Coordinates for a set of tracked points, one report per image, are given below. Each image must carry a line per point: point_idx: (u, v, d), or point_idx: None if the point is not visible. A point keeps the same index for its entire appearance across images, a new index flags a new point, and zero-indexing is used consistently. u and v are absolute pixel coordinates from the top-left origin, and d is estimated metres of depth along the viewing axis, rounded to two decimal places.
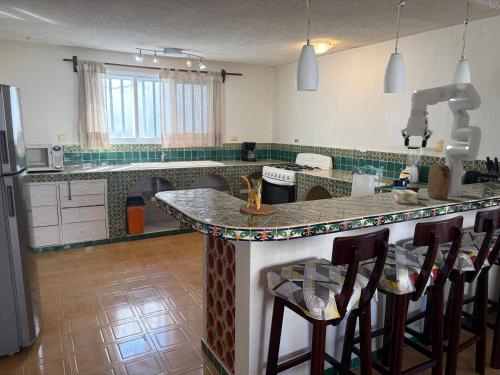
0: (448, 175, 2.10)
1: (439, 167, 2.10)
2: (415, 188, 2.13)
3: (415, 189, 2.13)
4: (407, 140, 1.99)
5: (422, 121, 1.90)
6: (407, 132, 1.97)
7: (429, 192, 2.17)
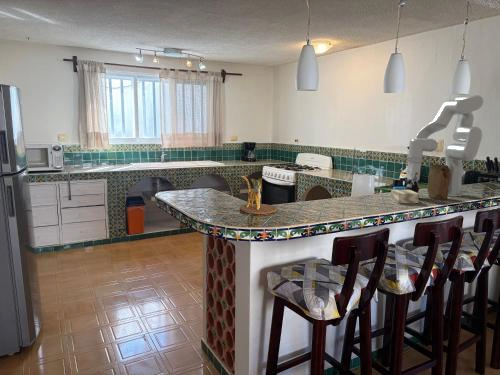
0: (448, 175, 2.10)
1: (439, 167, 2.10)
2: None
3: None
4: None
5: None
6: None
7: (429, 192, 2.17)
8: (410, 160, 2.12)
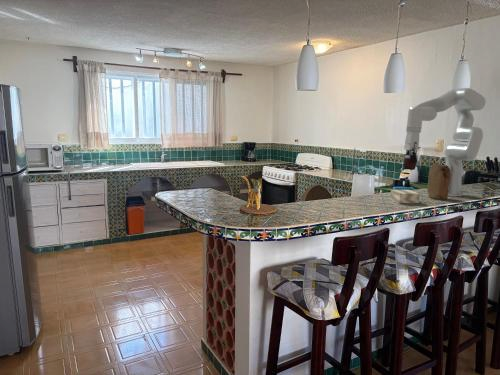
0: (448, 175, 2.10)
1: (439, 167, 2.10)
2: None
3: None
4: None
5: None
6: None
7: (429, 192, 2.17)
8: (409, 129, 2.02)
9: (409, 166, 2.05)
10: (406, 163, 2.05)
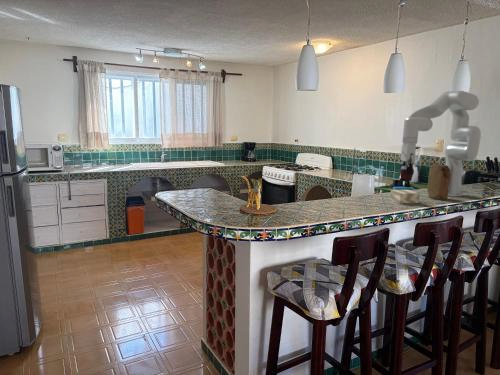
0: (448, 175, 2.10)
1: (439, 167, 2.10)
2: None
3: None
4: None
5: None
6: None
7: (429, 192, 2.17)
8: (405, 140, 1.98)
9: (405, 177, 2.02)
10: (402, 174, 2.02)
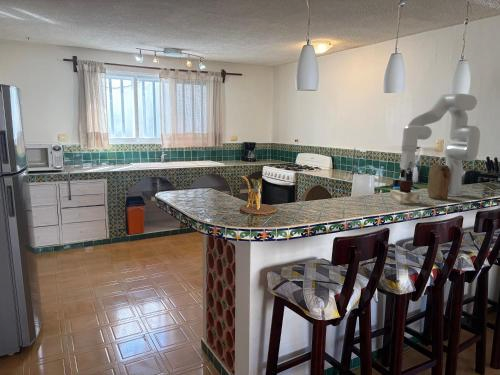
0: (448, 175, 2.10)
1: (439, 167, 2.10)
2: (409, 182, 2.01)
3: (409, 183, 2.01)
4: None
5: None
6: None
7: (429, 192, 2.17)
8: (404, 148, 1.99)
9: (405, 189, 2.03)
10: (402, 186, 2.03)
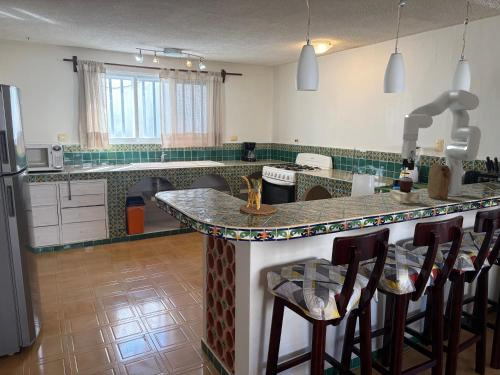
0: (448, 175, 2.10)
1: (439, 167, 2.10)
2: (409, 182, 2.01)
3: (409, 183, 2.01)
4: None
5: None
6: None
7: (429, 192, 2.17)
8: (405, 138, 1.98)
9: (404, 189, 2.03)
10: (401, 186, 2.03)
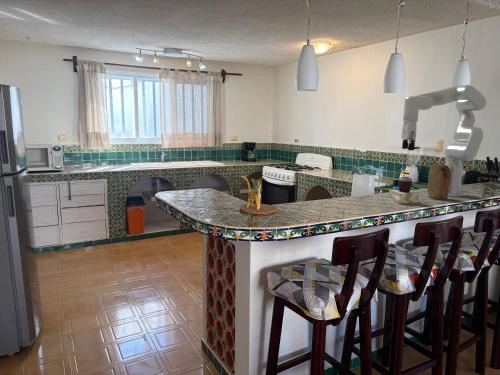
0: (448, 175, 2.10)
1: (439, 167, 2.10)
2: (408, 182, 2.01)
3: (408, 183, 2.01)
4: None
5: None
6: None
7: (429, 192, 2.17)
8: (405, 119, 2.03)
9: (404, 189, 2.03)
10: (401, 186, 2.03)
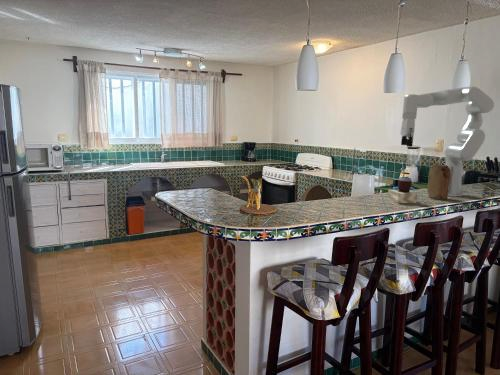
0: (448, 175, 2.10)
1: (439, 167, 2.10)
2: (408, 182, 2.01)
3: (408, 183, 2.01)
4: None
5: None
6: None
7: (429, 192, 2.17)
8: (404, 116, 2.12)
9: (403, 189, 2.03)
10: (400, 185, 2.03)
